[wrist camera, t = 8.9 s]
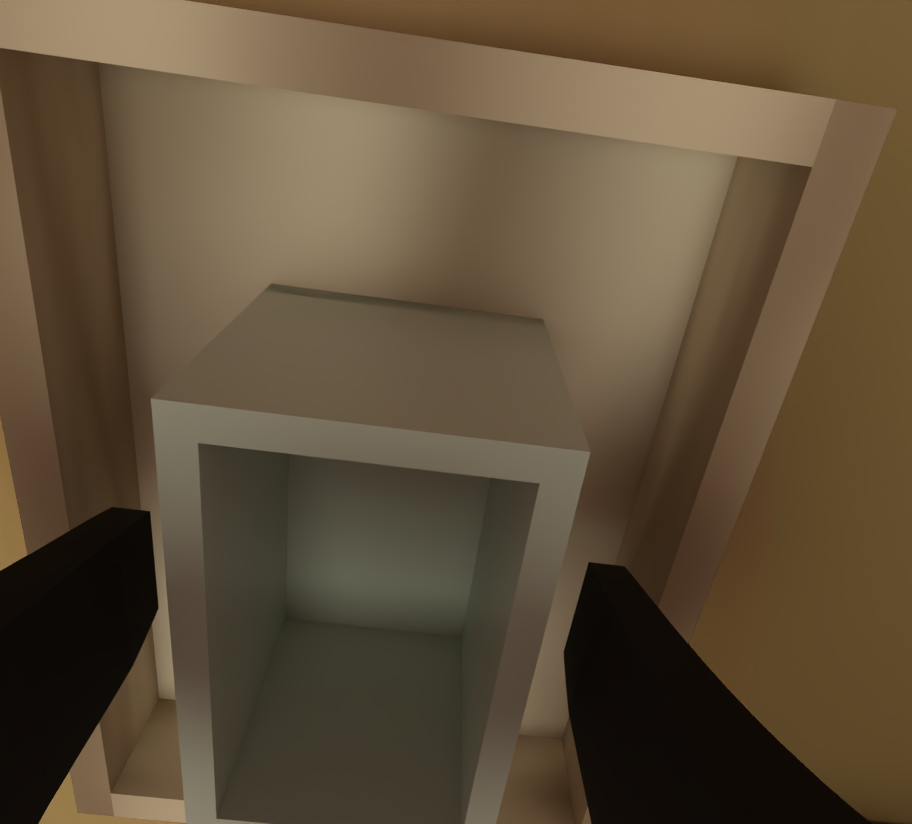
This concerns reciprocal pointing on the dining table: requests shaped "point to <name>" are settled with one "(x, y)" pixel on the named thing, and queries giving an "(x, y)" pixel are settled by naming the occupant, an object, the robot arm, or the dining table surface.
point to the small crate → (361, 555)
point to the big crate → (404, 280)
